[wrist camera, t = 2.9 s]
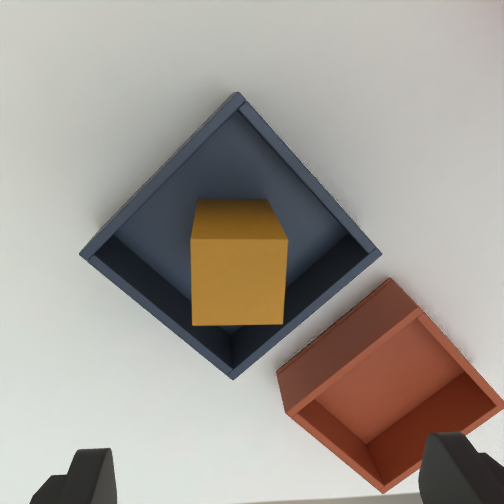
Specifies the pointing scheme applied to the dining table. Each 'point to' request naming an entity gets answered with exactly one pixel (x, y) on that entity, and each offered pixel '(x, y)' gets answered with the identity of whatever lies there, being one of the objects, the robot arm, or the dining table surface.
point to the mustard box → (237, 263)
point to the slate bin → (238, 188)
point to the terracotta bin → (384, 387)
